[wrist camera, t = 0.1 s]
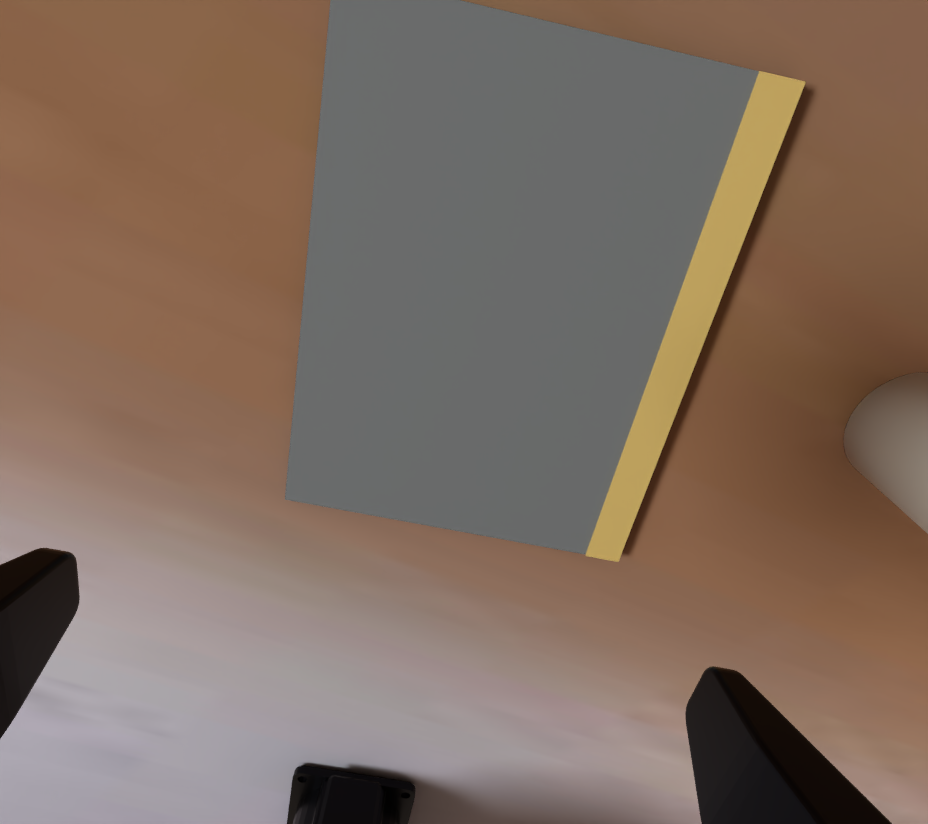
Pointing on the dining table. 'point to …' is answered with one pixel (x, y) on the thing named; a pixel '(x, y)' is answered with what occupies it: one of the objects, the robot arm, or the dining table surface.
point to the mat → (514, 265)
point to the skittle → (894, 443)
